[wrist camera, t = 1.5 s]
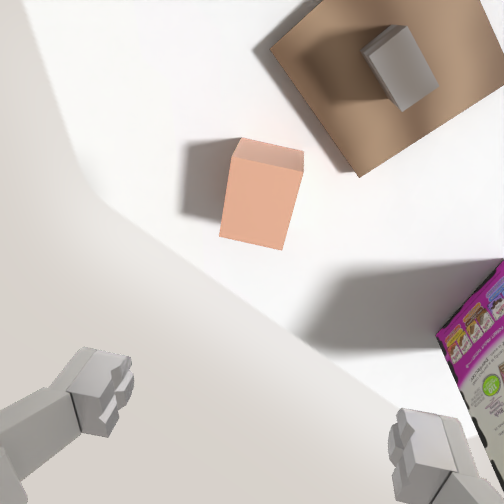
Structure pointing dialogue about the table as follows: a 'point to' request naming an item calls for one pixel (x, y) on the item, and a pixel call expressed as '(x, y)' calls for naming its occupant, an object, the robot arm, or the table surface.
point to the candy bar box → (481, 362)
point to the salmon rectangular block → (261, 193)
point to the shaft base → (357, 89)
